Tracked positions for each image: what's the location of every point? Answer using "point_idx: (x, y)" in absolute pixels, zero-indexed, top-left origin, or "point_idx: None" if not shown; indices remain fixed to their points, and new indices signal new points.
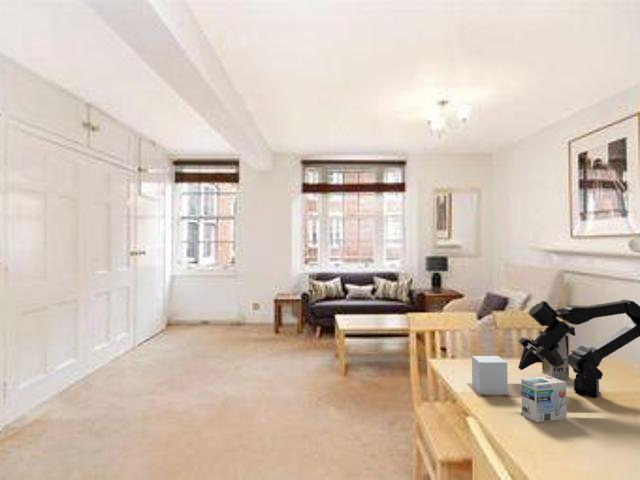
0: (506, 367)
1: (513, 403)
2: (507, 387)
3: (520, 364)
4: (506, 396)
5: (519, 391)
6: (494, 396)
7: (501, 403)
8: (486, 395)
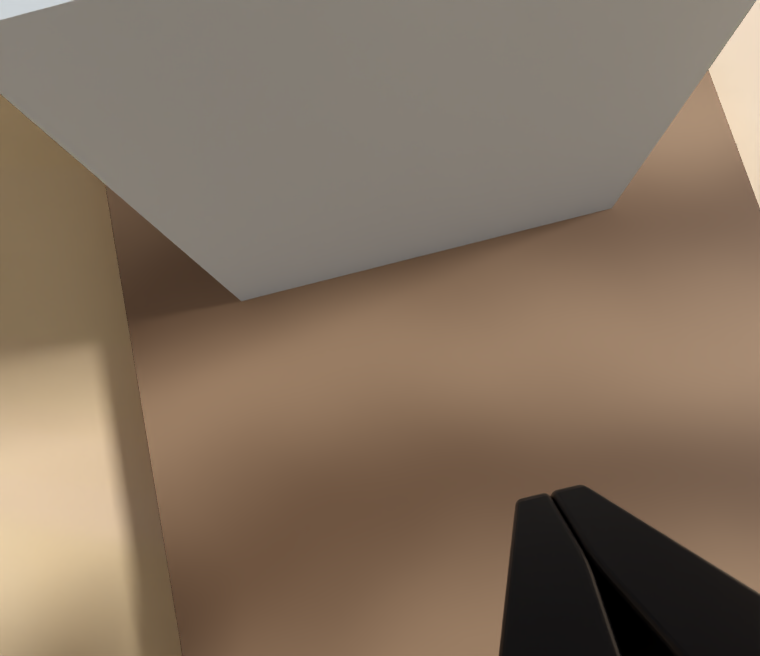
0: (30, 103)
1: (71, 363)
2: (210, 274)
3: (548, 554)
4: (155, 280)
5: (428, 478)
6: None
7: (47, 228)
8: None
